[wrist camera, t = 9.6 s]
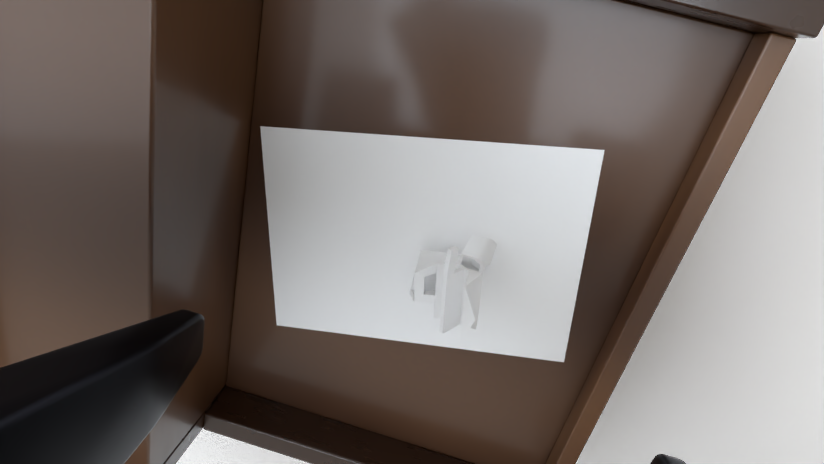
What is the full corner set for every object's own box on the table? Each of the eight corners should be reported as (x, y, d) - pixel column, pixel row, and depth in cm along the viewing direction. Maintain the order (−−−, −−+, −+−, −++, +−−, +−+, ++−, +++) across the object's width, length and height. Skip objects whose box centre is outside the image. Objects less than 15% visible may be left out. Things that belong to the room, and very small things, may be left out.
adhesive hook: (489, 304, 15) (487, 365, 13) (410, 295, 16) (390, 352, 13) (499, 216, 14) (500, 260, 11) (413, 208, 15) (393, 249, 12)
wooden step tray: (537, 441, 21) (563, 702, 13) (136, 318, 22) (-80, 483, 14) (738, 9, 14) (1088, -34, 6) (135, -138, 15) (-301, -352, 7)
